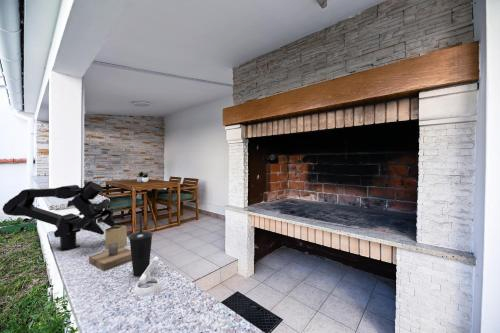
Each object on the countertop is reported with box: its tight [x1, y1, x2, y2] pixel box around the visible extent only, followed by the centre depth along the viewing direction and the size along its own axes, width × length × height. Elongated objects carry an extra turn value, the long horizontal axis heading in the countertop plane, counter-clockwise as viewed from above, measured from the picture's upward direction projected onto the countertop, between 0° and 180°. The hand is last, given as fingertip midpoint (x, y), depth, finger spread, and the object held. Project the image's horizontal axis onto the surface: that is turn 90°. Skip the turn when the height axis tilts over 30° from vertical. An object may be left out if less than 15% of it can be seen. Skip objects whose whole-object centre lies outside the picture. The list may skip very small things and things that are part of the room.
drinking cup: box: [127, 215, 154, 278], centre depth 75 cm, size 8×8×20 cm
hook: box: [133, 255, 162, 296], centre depth 66 cm, size 8×12×7 cm
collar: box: [104, 225, 128, 250], centre depth 100 cm, size 6×6×9 cm
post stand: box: [88, 243, 132, 272], centre depth 86 cm, size 12×12×6 cm
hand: (109, 230), depth 100 cm, fingers open, 9 cm apart
